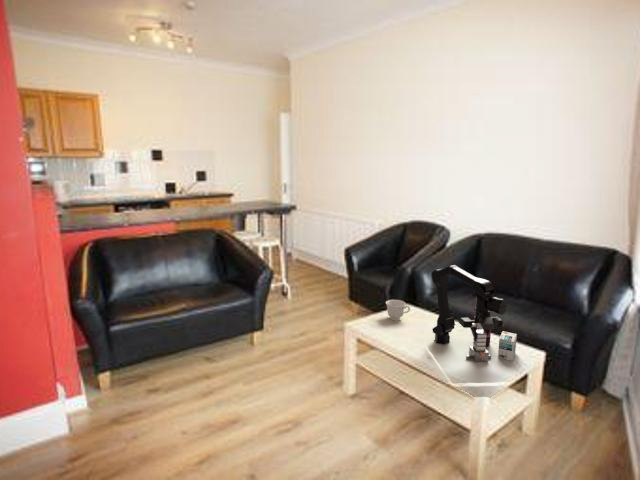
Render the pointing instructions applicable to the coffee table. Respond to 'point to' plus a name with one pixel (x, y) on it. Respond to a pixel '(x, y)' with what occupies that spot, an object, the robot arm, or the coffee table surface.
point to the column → (480, 341)
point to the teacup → (396, 309)
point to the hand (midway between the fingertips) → (479, 339)
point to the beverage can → (487, 336)
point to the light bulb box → (507, 345)
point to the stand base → (478, 355)
